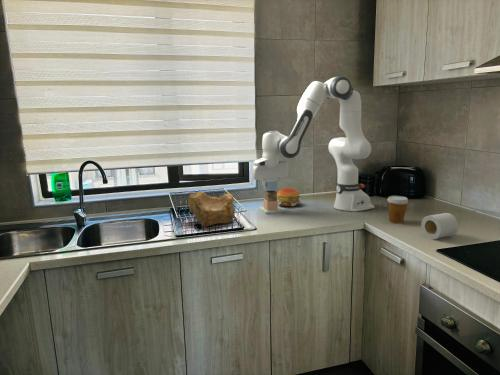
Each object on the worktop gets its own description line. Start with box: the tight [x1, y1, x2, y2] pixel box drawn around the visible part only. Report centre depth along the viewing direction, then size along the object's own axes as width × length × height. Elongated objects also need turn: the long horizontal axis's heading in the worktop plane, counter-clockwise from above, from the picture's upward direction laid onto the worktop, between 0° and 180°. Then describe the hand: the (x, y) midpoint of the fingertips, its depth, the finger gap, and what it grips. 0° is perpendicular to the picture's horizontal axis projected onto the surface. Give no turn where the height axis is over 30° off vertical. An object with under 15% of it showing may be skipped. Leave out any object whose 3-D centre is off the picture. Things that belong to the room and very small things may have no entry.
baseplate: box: [258, 206, 284, 215], centre depth 203 cm, size 10×10×1 cm
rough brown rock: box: [187, 191, 235, 228], centre depth 180 cm, size 23×17×15 cm
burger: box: [277, 187, 301, 208], centre depth 213 cm, size 13×14×10 cm
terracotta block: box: [263, 198, 279, 211], centre depth 202 cm, size 6×6×5 cm
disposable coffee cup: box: [386, 195, 409, 224], centre depth 179 cm, size 10×10×12 cm
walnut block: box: [263, 189, 278, 202], centre depth 201 cm, size 5×6×5 cm
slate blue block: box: [264, 180, 279, 191], centre depth 200 cm, size 5×6×5 cm
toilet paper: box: [420, 212, 459, 240], centre depth 158 cm, size 10×10×10 cm
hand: (270, 186), depth 200 cm, fingers open, 5 cm apart
